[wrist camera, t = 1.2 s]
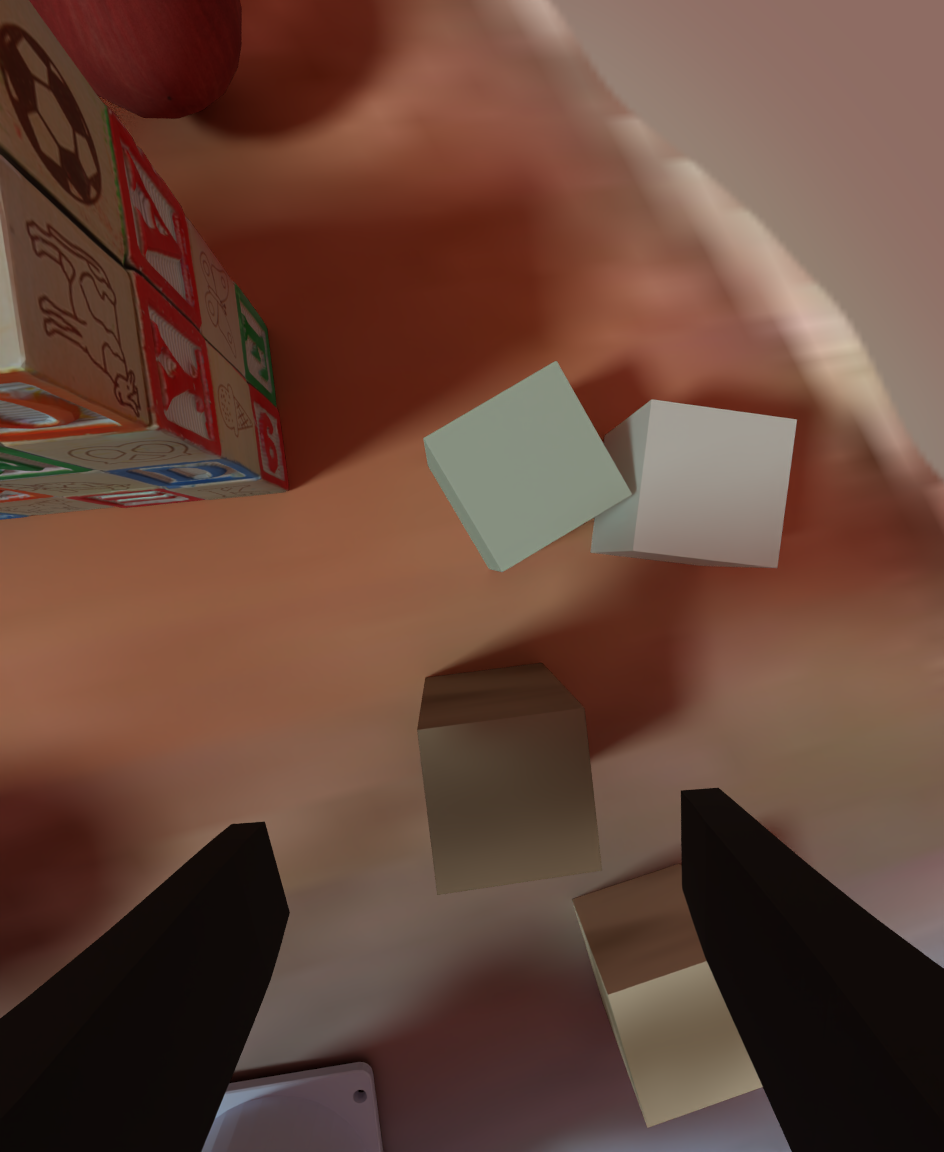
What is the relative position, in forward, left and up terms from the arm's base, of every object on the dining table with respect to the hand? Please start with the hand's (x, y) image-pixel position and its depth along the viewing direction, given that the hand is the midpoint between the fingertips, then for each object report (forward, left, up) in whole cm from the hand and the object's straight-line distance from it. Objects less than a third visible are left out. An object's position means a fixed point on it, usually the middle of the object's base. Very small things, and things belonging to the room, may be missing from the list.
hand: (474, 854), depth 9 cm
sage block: (+8, -3, -11) cm, 13 cm away
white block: (+6, -8, -11) cm, 15 cm away
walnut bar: (-2, -1, -11) cm, 11 cm away
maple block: (-11, -6, -11) cm, 16 cm away
